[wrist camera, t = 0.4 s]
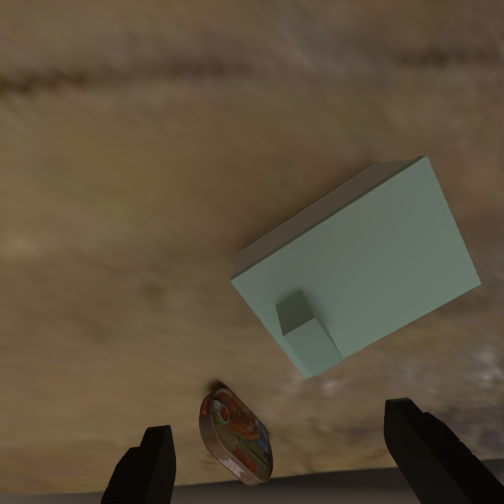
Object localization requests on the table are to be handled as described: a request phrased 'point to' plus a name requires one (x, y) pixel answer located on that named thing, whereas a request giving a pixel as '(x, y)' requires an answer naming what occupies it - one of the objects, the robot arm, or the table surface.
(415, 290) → the lid
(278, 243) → the parts tub
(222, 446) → the tin
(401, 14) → the table surface
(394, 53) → the table surface
